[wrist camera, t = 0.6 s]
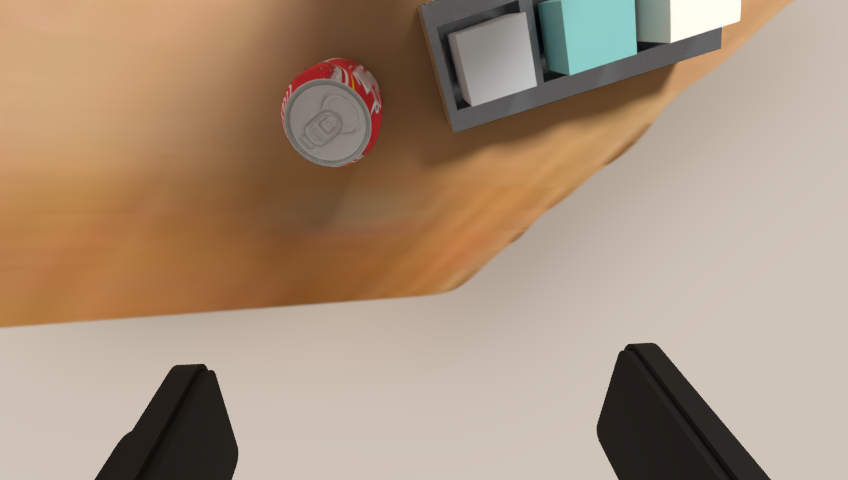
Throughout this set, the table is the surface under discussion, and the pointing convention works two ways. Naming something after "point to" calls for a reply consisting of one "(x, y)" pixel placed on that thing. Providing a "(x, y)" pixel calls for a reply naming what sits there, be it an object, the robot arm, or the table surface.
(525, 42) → the grey key
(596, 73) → the console
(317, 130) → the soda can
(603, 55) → the teal key
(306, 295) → the table surface
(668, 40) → the ivory key
